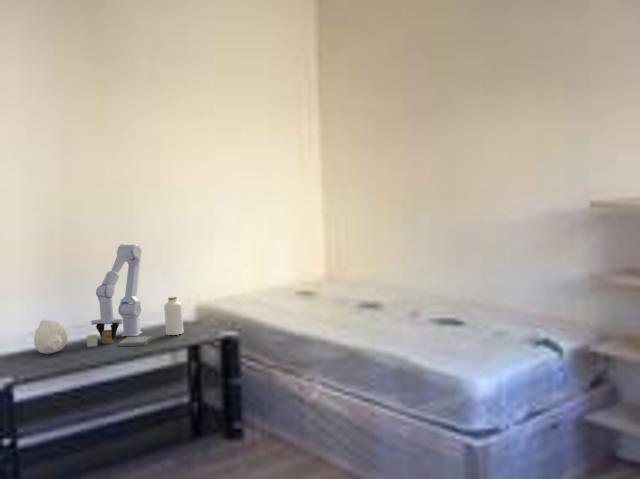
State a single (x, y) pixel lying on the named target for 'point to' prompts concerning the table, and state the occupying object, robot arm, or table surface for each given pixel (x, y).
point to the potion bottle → (173, 317)
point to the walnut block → (107, 337)
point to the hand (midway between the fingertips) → (108, 339)
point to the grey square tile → (135, 341)
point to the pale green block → (91, 340)
